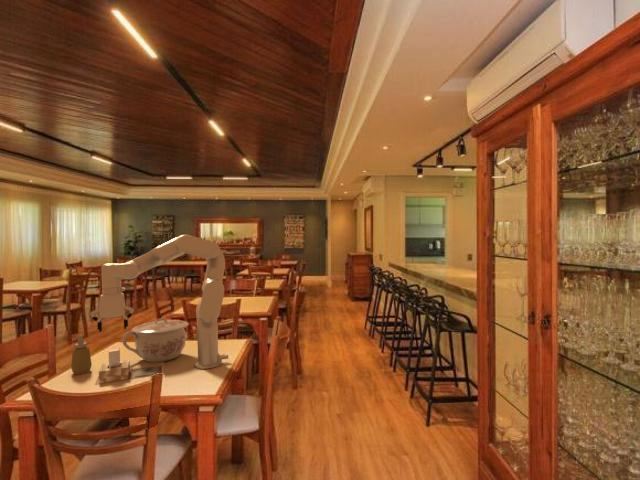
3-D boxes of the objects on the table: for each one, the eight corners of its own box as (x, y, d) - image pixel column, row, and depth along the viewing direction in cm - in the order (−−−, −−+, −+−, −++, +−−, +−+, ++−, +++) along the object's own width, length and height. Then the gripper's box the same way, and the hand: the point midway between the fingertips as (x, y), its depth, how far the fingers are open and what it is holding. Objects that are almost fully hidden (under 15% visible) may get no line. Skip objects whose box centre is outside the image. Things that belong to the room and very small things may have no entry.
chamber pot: (198, 350, 208) (197, 312, 208) (174, 367, 181) (173, 324, 180) (150, 350, 211) (148, 313, 210) (119, 367, 183) (117, 324, 183)
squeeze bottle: (88, 370, 181) (86, 332, 181) (94, 373, 176) (93, 335, 175) (68, 375, 175) (67, 336, 174) (75, 379, 169) (73, 339, 169)
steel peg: (120, 374, 171) (119, 348, 171) (119, 377, 167) (118, 350, 167) (110, 376, 169) (109, 349, 169) (109, 379, 165) (108, 351, 165)
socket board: (161, 367, 181) (161, 355, 181) (161, 376, 170) (161, 363, 169) (99, 376, 171) (98, 363, 171) (94, 387, 159) (94, 373, 159)
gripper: (134, 288, 174) (135, 325, 175) (90, 291, 168) (91, 330, 168) (133, 290, 167) (134, 329, 168) (87, 294, 161) (89, 334, 161)
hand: (113, 329), depth 168 cm, fingers open, 9 cm apart
